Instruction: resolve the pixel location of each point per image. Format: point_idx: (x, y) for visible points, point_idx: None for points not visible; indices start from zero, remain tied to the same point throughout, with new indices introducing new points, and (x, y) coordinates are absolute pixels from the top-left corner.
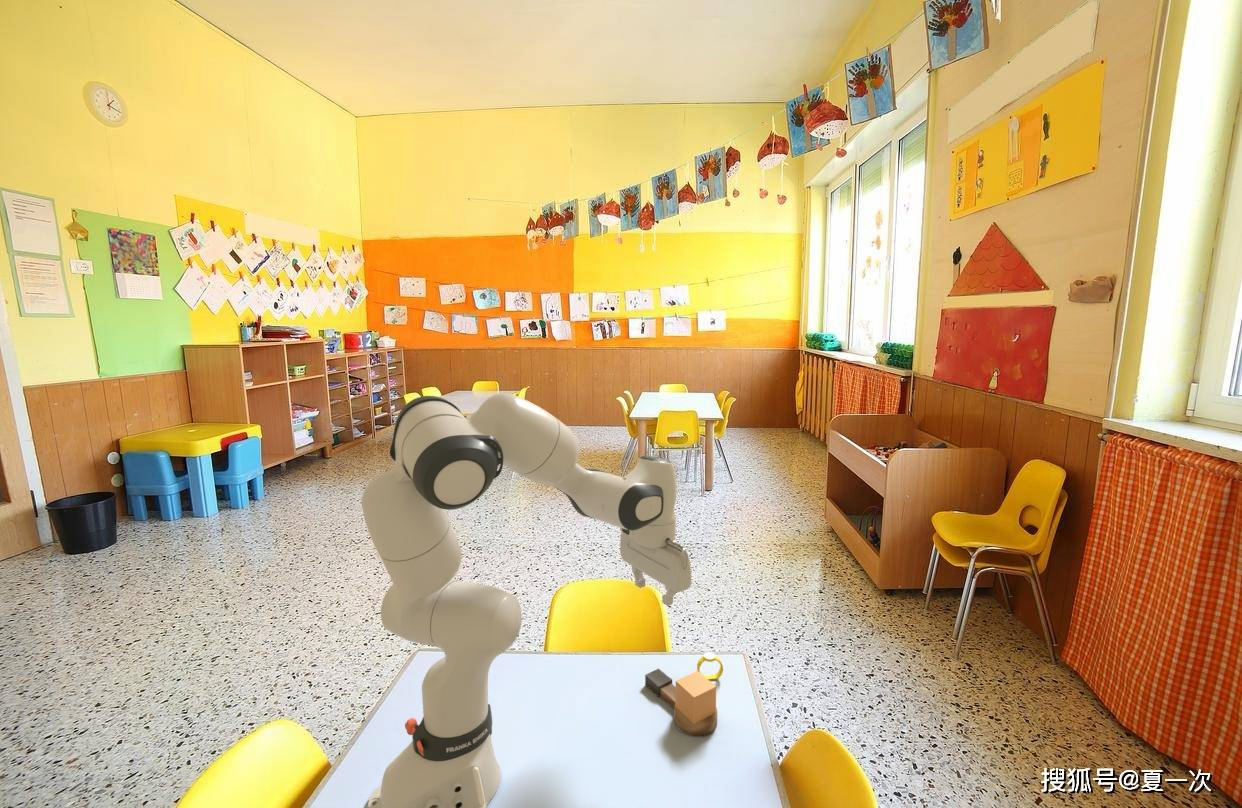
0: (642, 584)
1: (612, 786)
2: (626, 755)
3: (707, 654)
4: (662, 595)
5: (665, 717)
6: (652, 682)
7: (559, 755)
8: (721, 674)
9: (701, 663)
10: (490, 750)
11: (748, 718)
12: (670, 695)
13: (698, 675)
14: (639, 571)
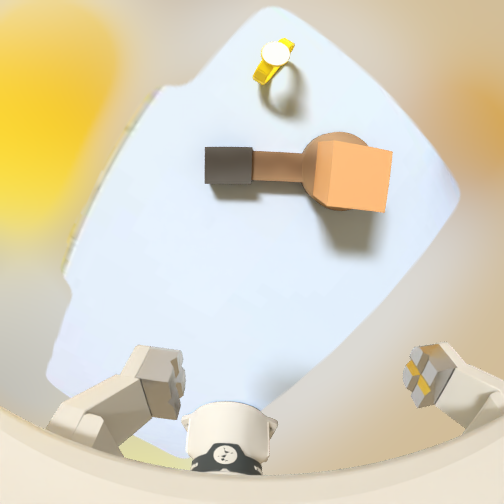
0: (178, 375)
1: (335, 333)
2: (313, 298)
3: (269, 53)
4: (419, 407)
5: (297, 205)
6: (230, 183)
7: (256, 357)
8: (290, 52)
9: (268, 75)
10: (247, 439)
11: (383, 101)
12: (279, 176)
13: (347, 151)
14: (107, 417)
